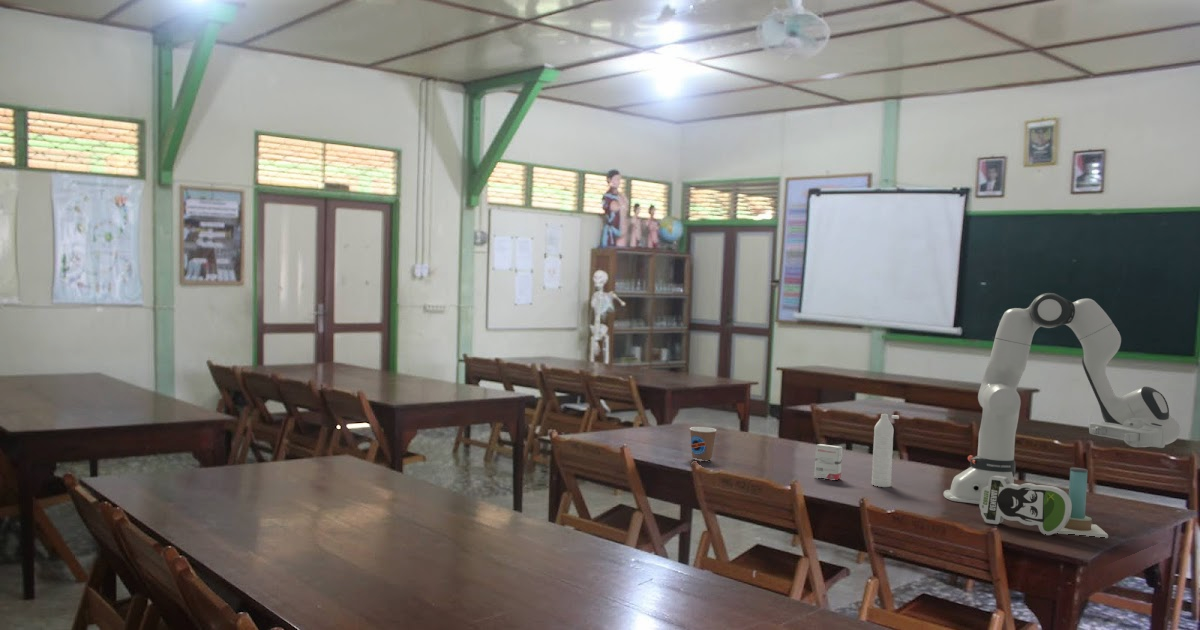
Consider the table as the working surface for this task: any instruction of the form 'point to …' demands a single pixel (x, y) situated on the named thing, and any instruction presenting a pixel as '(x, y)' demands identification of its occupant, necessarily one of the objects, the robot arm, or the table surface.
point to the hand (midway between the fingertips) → (1108, 434)
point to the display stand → (1082, 528)
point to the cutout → (1025, 504)
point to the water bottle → (883, 451)
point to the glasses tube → (1078, 491)
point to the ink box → (828, 461)
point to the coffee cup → (702, 442)
